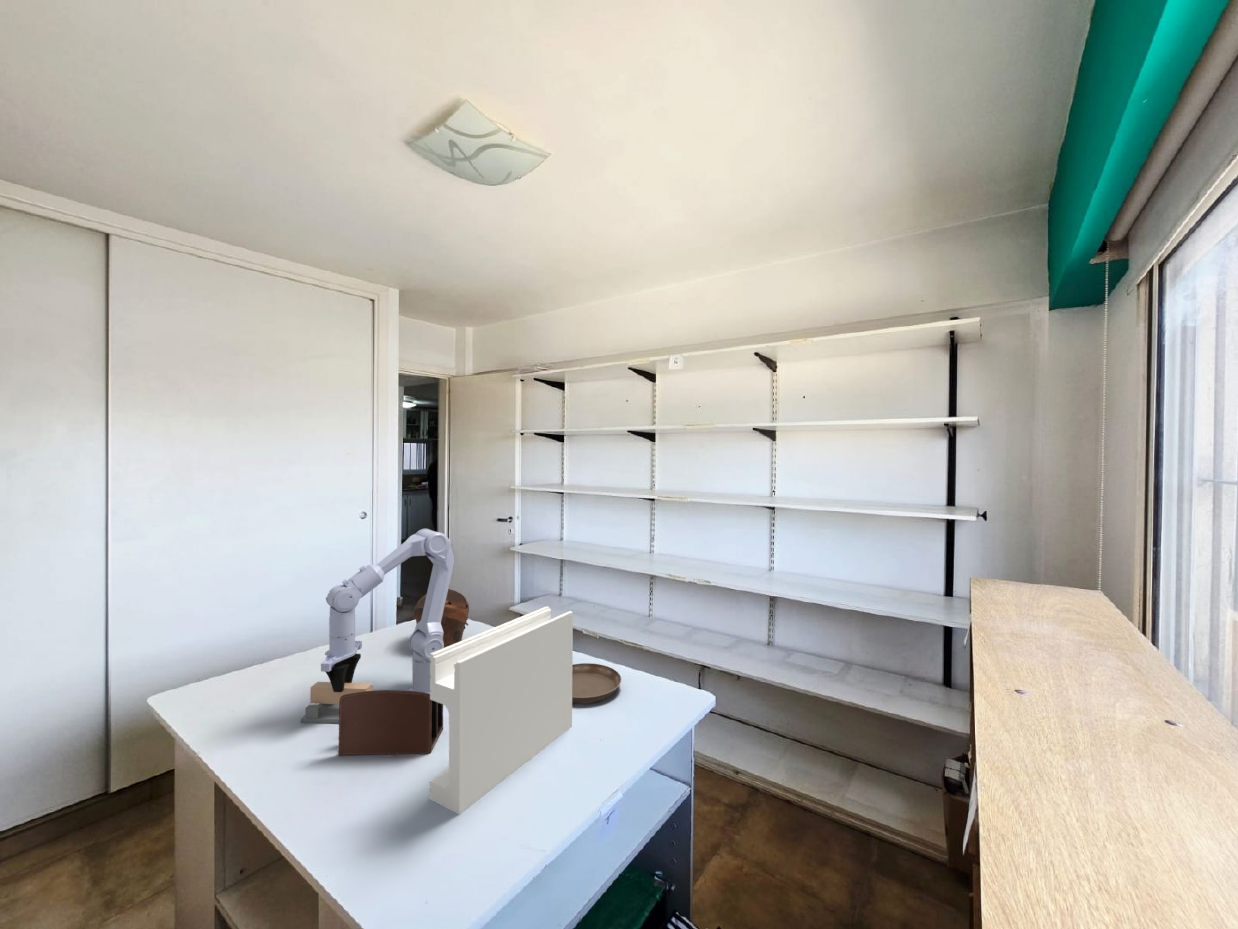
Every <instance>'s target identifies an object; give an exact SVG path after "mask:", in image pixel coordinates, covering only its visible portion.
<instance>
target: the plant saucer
mask: <svg viewBox="0 0 1238 929" xmlns="http://www.w3.org/2000/svg"><path fill="white" fill-rule="evenodd" d="M621 683H622V677H621V674H620V673H619V671H617V670H616V669H614V668H612V667H609V666H607V665H604V664H600V663H588V662H587V663H585V662H584V663H575V664H573V663H572V704H578V705H579V704H581V705H582V704H585V705H586V704H592V703H593V704H594V703H597V702H601V701H604V700H606V699H608V698H609V697H611V695H613V694H614V693H615V692H616V690H617V689H619V686H620V685H621Z"/></svg>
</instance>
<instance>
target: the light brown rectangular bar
mask: <svg viewBox="0 0 1238 929" xmlns="http://www.w3.org/2000/svg"><path fill="white" fill-rule="evenodd" d="M309 689H310V692H309V693H310V697H309V699H310V700H309V702H310V704H320V703H321V704H339V700H340V698H341V696H343V695H346V694H350V693H357V692H365V691H373V683H368V682H367V683H365V682H362V683H361V682H360V683H359V682H352V683H345V684H344V689H343V691H342V692H334V691H333V688H332V685H331V682H330V681H317V682H315V683H314V684H313V685H311V686H310V688H309Z"/></svg>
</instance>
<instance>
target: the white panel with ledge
mask: <svg viewBox="0 0 1238 929" xmlns="http://www.w3.org/2000/svg"><path fill="white" fill-rule="evenodd" d="M573 619H574V612H573V611H571V610H569V611H567V612H565V613H562V614H560V615H558V616H556V617H553V618H552V608H550V606H544V607H541V608H540V609H537V610H534V611H532V612H529V613H527V614H524V615H522V616H520V617H516V618H514V619H512V620H510V621H506V622H505V623H502V624H500V625H497V626H495V627H493V628H490V629H487V630H485V631H483V632H479V633H477V634H475V635H473V636H469V637H467V638H465V639H464V640H463V639H462V641H460V642H458V643H455V644H453V645H450V646H448V647H445V648H443V649H440V650H438V651H435V652H433V653H431V654H430V661H431V663H430V676H431V678H430V691H431V693H430V700H433V701H436V702H438V703H441V704H443V706H445V708H446V709H447V711H448V768H447V769H446V770H444V771H443V772H442V773H440V774H438V775H437V776H436V777H434V778H432V779H431V780H429V786H430V788H429V793H430V794H429V800H431V801H433V802H435V803H437V804H438V805H440V806H442V807H444V808H446V809H448V810H450V811H452V812H453V813H455V814H457V815H462V813H463V812H465V811H466V810H467V809H469V808H470V807H471V806H472V805H475V803H476V802H478V801H479V800H480V799H481V798H483V797H484V796H486V795H487V794H488V793H490V791H492V790H493V789H494V788H495V787H497V786H498V785H499V784H501V783H502V782H504V781H505V780H506V779H507V778H508V777H509V776H511V775H512V774H514V773H515V772H516V771H517V770H519V769H520V768H521V767H523V766H524V765H525V764H526V763H528V762H529V761H530V760H531V759H533V758H534V757H536V756H537V755H538V754H539V753H540V752H542V751H543V750H544V749H545V748H547V747H548V746H549V745H550V744H552V743H553V742H554V741H555V740H557V739H558V738H559V737H561V736H562V735H564V733H565V732H567V731H569V729H571V728H572V727H573V703H572V665H573V658H574V657H573V655H574V654H573V651H574V650H573V645H574V644H573V642H574V641H573V640H574V639H573V638H574V636H573V635H574V632H573V631H574V630H573V629H574V623H573V622H574V620H573Z"/></svg>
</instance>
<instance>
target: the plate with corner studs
mask: <svg viewBox="0 0 1238 929" xmlns="http://www.w3.org/2000/svg"><path fill="white" fill-rule="evenodd" d="M300 722H301V723H305V724H306V723H307V724H339V704H321V703H317V704H308V705H307V706H306V707H305V715H303V716H302V717H301V718H300Z"/></svg>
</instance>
